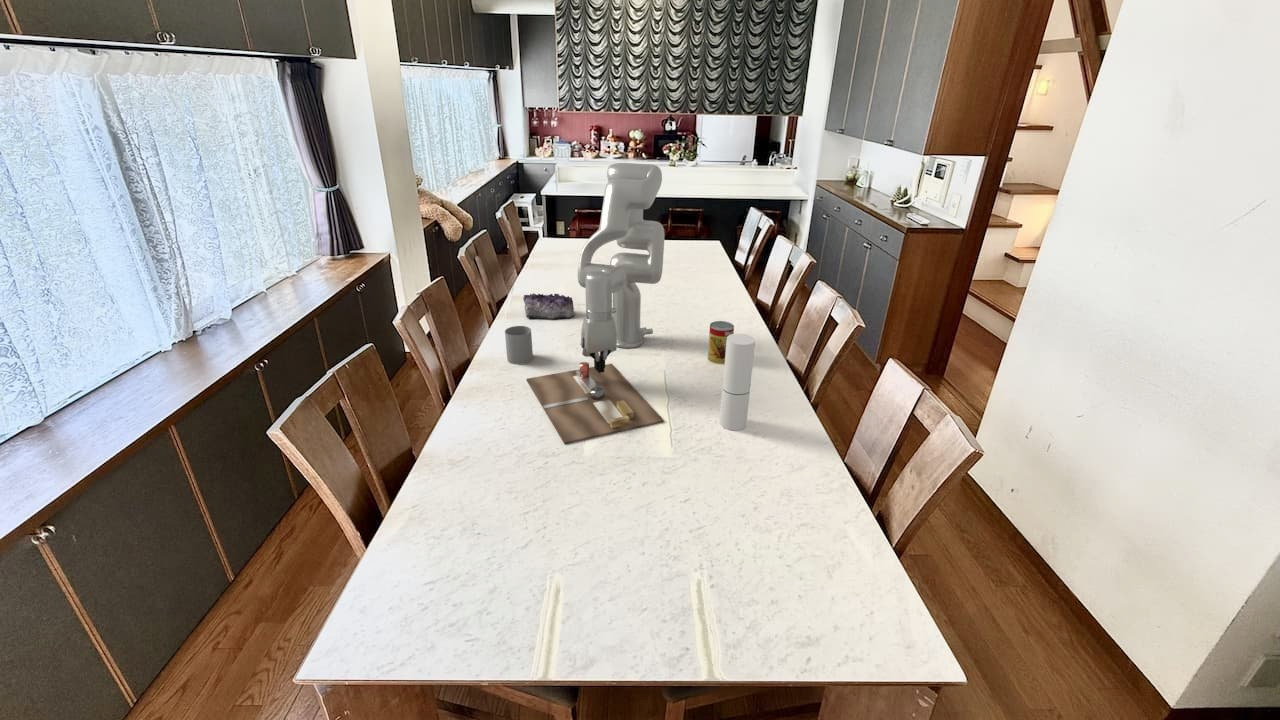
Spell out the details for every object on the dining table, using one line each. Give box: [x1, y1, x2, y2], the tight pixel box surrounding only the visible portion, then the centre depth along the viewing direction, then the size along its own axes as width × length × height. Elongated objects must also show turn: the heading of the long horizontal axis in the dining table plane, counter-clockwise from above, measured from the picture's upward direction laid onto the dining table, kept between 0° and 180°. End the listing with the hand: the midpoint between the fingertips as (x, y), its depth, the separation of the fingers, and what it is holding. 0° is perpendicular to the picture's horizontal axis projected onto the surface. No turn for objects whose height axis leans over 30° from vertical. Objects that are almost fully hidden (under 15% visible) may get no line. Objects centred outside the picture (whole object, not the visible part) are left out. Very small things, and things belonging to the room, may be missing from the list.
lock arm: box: [576, 361, 604, 399], centre depth 177 cm, size 17×4×5 cm, turn 24°
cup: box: [504, 325, 534, 365], centre depth 195 cm, size 8×8×10 cm
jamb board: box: [526, 363, 664, 445], centre depth 172 cm, size 28×38×3 cm
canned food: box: [707, 320, 735, 365], centre depth 197 cm, size 8×8×12 cm
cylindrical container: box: [719, 333, 756, 431], centre depth 157 cm, size 7×7×25 cm
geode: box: [522, 293, 576, 320], centre depth 231 cm, size 20×12×10 cm, turn 88°
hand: (599, 370), depth 182 cm, fingers closed
